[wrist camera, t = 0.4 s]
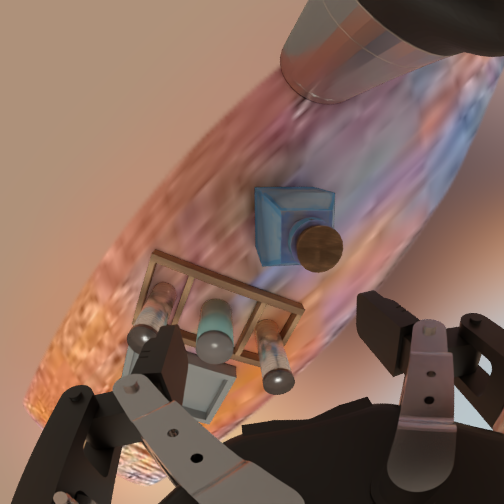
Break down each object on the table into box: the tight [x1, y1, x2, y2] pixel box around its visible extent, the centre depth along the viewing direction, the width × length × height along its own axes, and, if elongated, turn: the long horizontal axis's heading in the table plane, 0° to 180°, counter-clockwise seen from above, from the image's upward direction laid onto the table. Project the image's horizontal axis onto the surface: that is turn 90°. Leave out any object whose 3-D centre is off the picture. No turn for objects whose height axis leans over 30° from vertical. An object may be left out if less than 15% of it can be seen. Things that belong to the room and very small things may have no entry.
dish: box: [122, 346, 236, 424], centre depth 33 cm, size 11×14×2 cm
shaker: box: [196, 299, 234, 364], centre depth 28 cm, size 4×4×7 cm
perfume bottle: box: [255, 187, 343, 273], centre depth 24 cm, size 6×6×12 cm
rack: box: [132, 249, 305, 367], centre depth 31 cm, size 9×18×2 cm, turn 66°
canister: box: [254, 319, 295, 395], centre depth 28 cm, size 3×3×10 cm
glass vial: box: [127, 282, 177, 354], centre depth 26 cm, size 3×3×10 cm
